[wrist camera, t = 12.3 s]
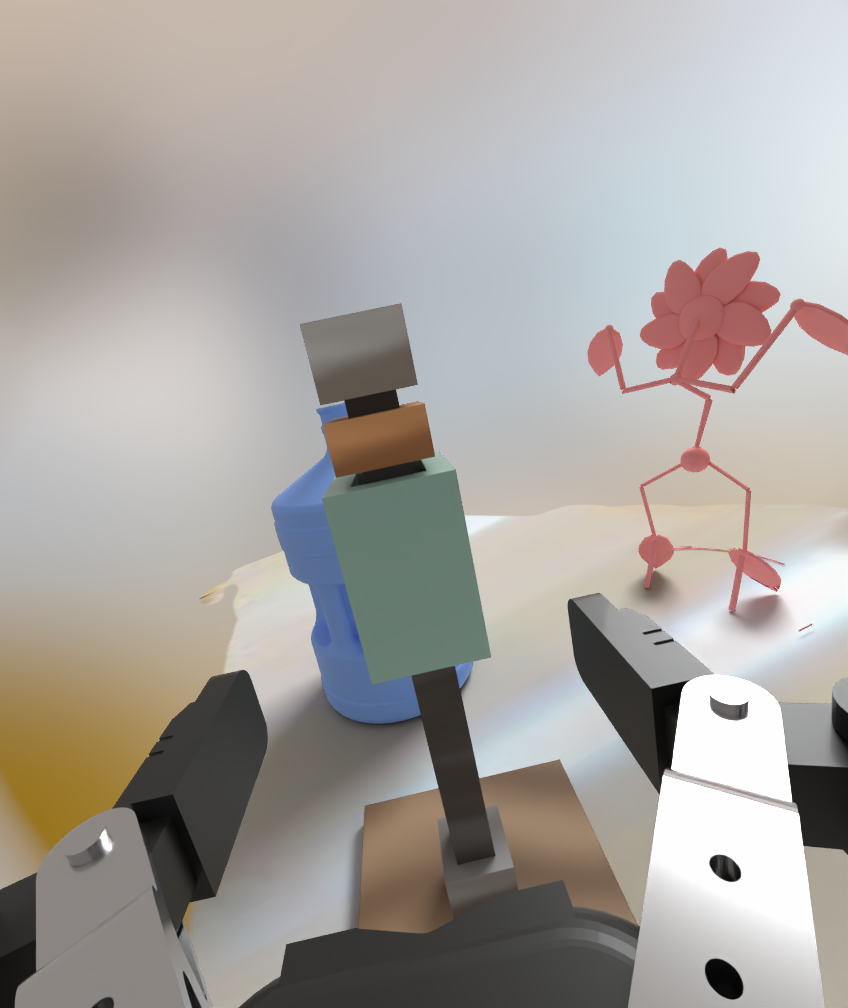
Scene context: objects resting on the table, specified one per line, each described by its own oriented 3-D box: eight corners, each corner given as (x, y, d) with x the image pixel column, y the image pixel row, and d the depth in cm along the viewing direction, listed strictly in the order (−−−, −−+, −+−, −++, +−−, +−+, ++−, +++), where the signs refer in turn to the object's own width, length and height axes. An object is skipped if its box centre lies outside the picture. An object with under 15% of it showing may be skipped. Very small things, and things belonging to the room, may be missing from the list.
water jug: (383, 625, 58) (327, 406, 51) (498, 640, 50) (450, 380, 43) (295, 709, 45) (204, 432, 38) (429, 747, 37) (344, 404, 30)
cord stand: (688, 1049, 19) (619, 218, 11) (356, 1135, 18) (37, 337, 11) (561, 773, 32) (490, 314, 24) (368, 819, 32) (233, 367, 24)
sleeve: (491, 657, 19) (455, 469, 17) (372, 684, 19) (321, 498, 17) (469, 602, 24) (440, 451, 21) (375, 623, 23) (336, 474, 21)
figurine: (837, 645, 39) (855, 183, 30) (582, 575, 60) (551, 293, 52) (891, 579, 46) (916, 197, 38) (648, 538, 68) (630, 288, 59)
